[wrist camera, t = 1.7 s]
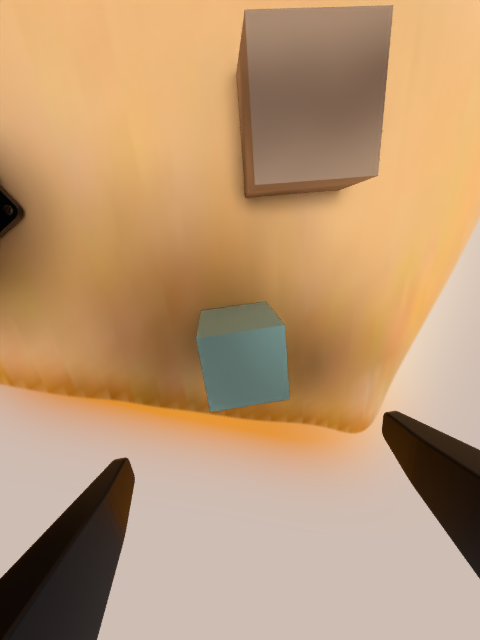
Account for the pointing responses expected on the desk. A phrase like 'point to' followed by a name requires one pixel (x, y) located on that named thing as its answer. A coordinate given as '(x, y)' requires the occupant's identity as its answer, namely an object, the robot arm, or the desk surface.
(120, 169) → the desk surface
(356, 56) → the walnut block
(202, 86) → the desk surface
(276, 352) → the teal block
